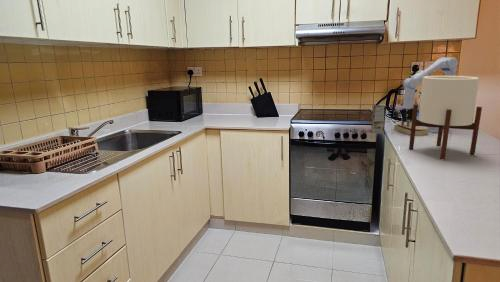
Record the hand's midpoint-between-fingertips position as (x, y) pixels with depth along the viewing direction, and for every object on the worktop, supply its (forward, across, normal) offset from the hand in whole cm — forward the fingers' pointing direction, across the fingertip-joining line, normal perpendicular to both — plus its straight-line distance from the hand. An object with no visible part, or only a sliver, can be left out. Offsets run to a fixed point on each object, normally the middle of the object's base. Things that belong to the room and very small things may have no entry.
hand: (406, 121), depth 205 cm
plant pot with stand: (+7, +10, +41) cm, 43 cm away
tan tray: (+7, -3, 0) cm, 7 cm away
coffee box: (+7, +15, -6) cm, 18 cm away
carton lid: (+3, -3, 0) cm, 5 cm away
